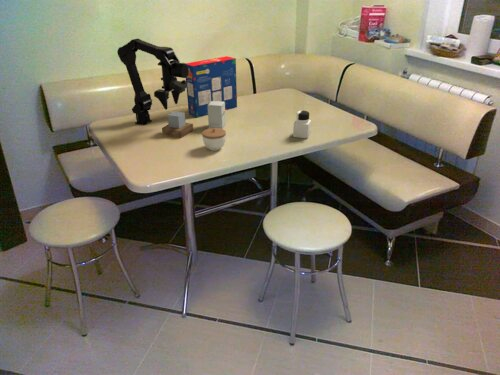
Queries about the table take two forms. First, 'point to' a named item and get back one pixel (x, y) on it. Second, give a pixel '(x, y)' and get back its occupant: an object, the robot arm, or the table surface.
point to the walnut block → (177, 130)
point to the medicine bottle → (302, 125)
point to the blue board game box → (211, 84)
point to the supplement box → (216, 114)
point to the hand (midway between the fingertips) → (171, 106)
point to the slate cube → (176, 119)
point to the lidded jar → (214, 138)
